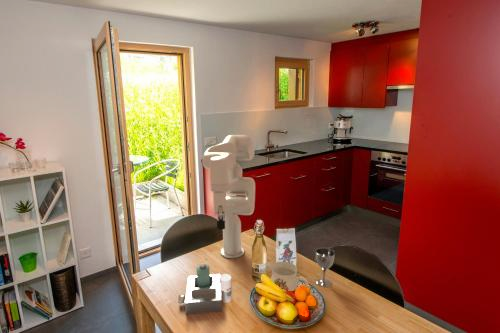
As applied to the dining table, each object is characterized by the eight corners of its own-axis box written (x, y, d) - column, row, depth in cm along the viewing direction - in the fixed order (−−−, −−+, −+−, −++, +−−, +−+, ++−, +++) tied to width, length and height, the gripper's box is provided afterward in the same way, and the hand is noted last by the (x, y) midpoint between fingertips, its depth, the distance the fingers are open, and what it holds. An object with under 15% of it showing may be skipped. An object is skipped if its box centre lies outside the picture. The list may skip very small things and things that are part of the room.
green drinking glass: (197, 283, 130) (196, 262, 128) (210, 282, 131) (209, 262, 129) (197, 291, 125) (196, 269, 123) (210, 290, 126) (209, 268, 124)
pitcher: (304, 311, 121) (305, 279, 118) (261, 299, 128) (261, 270, 125) (310, 294, 131) (311, 265, 128) (270, 284, 138) (270, 256, 135)
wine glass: (334, 287, 136) (336, 256, 132) (316, 287, 136) (318, 256, 132) (330, 277, 143) (331, 247, 140) (313, 277, 143) (314, 247, 140)
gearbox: (182, 286, 137) (181, 271, 136) (220, 283, 139) (220, 268, 137) (177, 314, 120) (176, 297, 118) (221, 311, 122) (221, 294, 120)
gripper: (211, 180, 137) (212, 215, 142) (209, 194, 121) (212, 233, 125) (227, 179, 138) (229, 214, 143) (229, 193, 121) (230, 232, 126)
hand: (221, 223), depth 134 cm, fingers open, 9 cm apart
